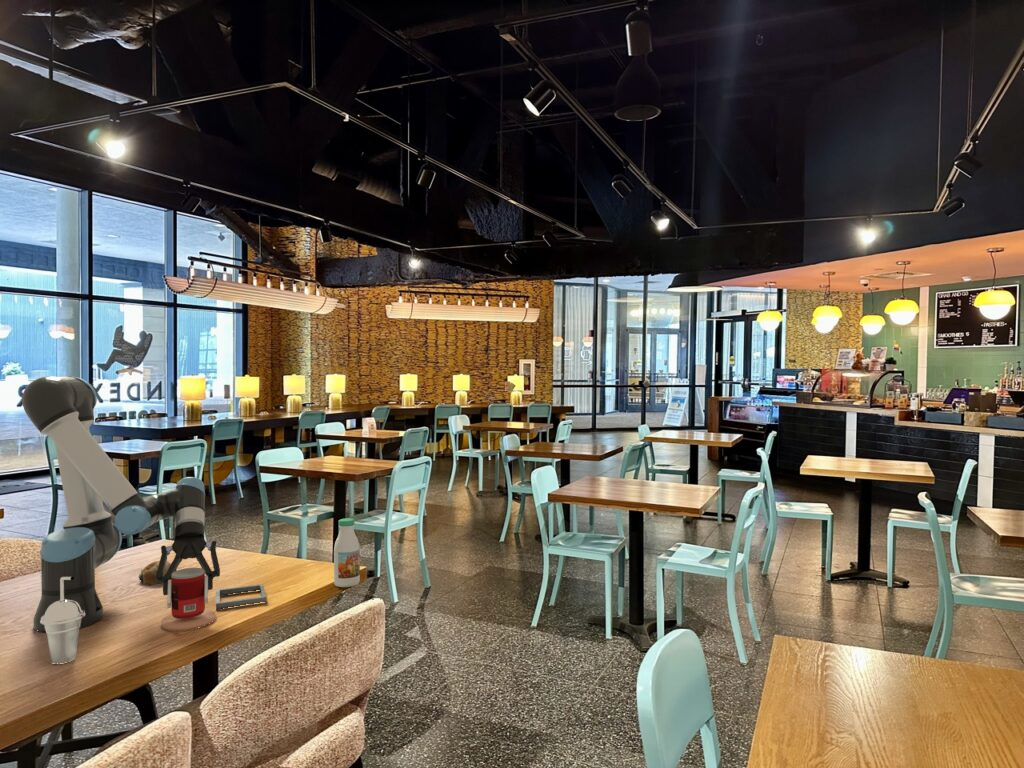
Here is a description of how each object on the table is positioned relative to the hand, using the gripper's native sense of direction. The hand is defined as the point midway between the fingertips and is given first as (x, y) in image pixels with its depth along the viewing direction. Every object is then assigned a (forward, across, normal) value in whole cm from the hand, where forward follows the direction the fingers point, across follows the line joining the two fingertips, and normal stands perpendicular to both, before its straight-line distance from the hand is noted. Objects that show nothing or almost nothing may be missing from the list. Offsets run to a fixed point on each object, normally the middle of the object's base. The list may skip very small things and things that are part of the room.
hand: (187, 603), depth 170 cm
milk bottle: (-8, -44, -17) cm, 47 cm away
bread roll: (-28, +10, -37) cm, 48 cm away
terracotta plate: (+2, 0, -7) cm, 7 cm away
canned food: (+1, 0, -5) cm, 5 cm away
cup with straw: (+13, +25, +4) cm, 28 cm away
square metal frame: (-7, -13, -16) cm, 22 cm away
